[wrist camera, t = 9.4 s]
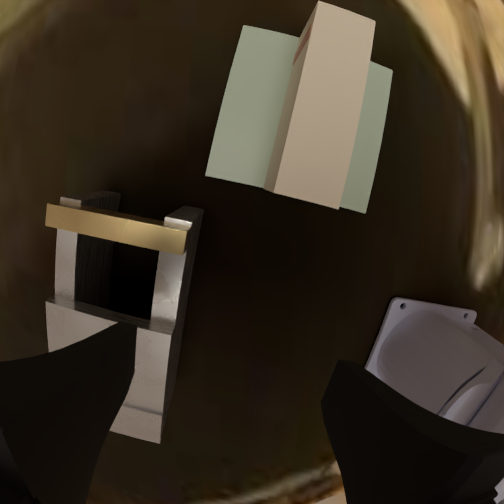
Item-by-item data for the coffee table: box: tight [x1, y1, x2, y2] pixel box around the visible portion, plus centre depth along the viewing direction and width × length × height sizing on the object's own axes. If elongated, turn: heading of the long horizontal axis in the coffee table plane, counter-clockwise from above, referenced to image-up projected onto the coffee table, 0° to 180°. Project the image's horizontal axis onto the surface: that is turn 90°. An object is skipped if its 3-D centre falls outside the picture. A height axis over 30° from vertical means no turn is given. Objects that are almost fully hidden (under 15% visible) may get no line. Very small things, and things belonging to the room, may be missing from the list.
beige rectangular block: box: [263, 1, 376, 209], centre depth 15 cm, size 3×10×5 cm, turn 167°
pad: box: [205, 25, 393, 213], centre depth 18 cm, size 10×10×1 cm
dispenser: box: [45, 190, 204, 443], centre depth 17 cm, size 7×12×7 cm, turn 167°
